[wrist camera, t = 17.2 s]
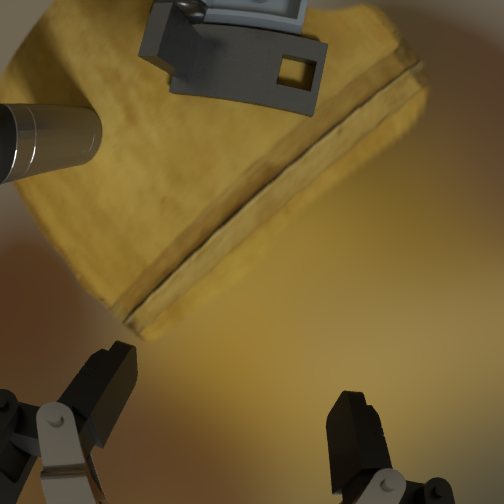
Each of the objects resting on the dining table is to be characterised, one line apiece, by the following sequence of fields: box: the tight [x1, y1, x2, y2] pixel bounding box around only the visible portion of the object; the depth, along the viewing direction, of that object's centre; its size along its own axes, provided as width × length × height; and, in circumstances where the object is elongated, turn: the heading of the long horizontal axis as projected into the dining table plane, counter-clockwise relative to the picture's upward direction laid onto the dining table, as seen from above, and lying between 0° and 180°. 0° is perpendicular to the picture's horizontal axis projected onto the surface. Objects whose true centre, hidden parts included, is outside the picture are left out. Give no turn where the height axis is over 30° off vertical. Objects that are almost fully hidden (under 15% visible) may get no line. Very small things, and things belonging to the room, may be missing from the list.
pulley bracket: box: [138, 0, 328, 117], centre depth 26 cm, size 20×10×13 cm, turn 78°
